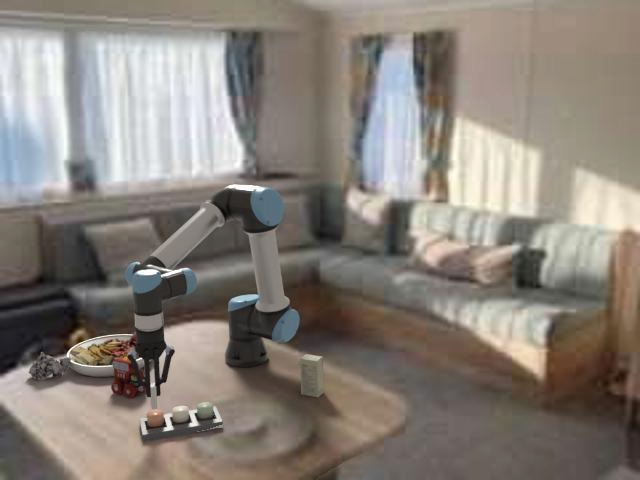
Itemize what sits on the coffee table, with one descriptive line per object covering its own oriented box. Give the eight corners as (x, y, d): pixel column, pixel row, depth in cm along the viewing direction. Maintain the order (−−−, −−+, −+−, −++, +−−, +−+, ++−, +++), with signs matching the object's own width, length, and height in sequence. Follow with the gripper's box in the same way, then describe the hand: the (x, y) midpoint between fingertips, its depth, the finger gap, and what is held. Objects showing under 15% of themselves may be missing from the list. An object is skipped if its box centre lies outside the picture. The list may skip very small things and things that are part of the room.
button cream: (187, 413, 192) (187, 404, 192) (190, 420, 188) (189, 411, 187) (171, 416, 191) (171, 407, 190) (173, 423, 186) (173, 414, 186)
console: (216, 412, 198) (215, 406, 198) (222, 427, 189) (222, 421, 188) (139, 424, 191) (139, 418, 190) (143, 441, 182) (142, 434, 181)
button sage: (211, 409, 195) (211, 400, 194) (214, 416, 190) (214, 407, 190) (195, 412, 193) (195, 403, 192) (198, 419, 189) (198, 410, 188)
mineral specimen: (76, 362, 225) (56, 342, 222) (63, 382, 218) (41, 361, 214) (53, 373, 230) (32, 353, 227) (39, 392, 223) (18, 372, 219)
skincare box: (324, 392, 211) (324, 356, 208) (318, 398, 207) (318, 361, 204) (306, 388, 213) (305, 353, 211) (299, 394, 210) (299, 358, 207)
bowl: (108, 388, 215) (106, 365, 213) (49, 368, 231) (47, 347, 229) (174, 357, 240) (173, 336, 238) (117, 341, 255) (115, 321, 254)
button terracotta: (163, 417, 190) (162, 408, 189) (164, 425, 186) (164, 415, 185) (146, 420, 188) (145, 411, 188) (148, 427, 184) (147, 418, 184)
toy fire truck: (137, 400, 206) (135, 369, 204) (107, 392, 211) (105, 362, 209) (152, 391, 212) (150, 361, 210) (123, 384, 217) (120, 354, 215)
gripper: (172, 319, 186) (175, 397, 191) (123, 325, 182) (128, 404, 187) (175, 328, 179) (179, 409, 185) (125, 334, 175) (130, 416, 180)
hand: (154, 406), depth 186 cm, fingers closed
